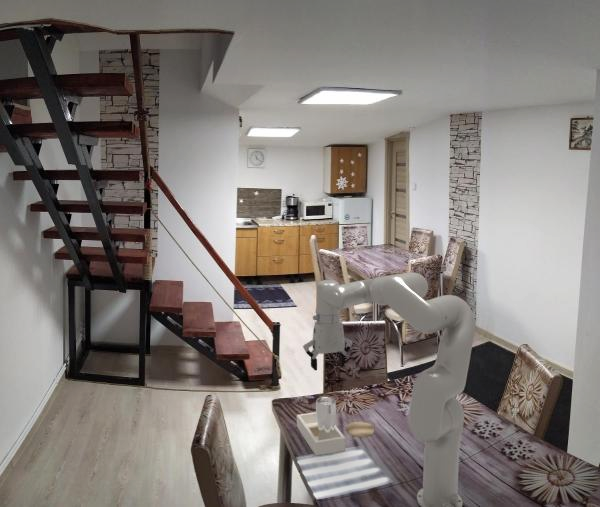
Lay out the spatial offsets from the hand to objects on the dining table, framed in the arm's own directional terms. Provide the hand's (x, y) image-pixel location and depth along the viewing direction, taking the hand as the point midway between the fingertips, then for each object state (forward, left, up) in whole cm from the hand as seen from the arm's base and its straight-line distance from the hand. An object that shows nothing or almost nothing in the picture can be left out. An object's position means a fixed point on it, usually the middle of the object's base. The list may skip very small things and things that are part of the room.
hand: (328, 367), depth 181 cm
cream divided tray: (+5, +1, -28) cm, 29 cm away
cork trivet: (+6, -15, -28) cm, 33 cm away
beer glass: (0, +1, -27) cm, 27 cm away
